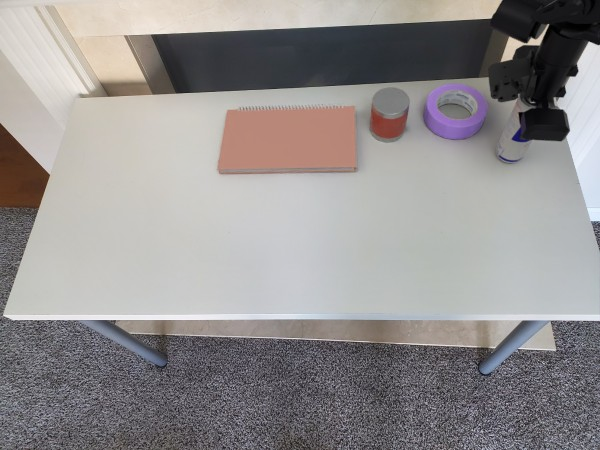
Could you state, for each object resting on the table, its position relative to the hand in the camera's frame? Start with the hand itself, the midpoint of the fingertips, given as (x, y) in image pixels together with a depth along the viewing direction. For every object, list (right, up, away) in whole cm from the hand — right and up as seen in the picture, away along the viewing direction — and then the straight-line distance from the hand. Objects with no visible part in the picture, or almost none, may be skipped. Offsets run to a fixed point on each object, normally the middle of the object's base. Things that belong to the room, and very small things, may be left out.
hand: (521, 126), depth 78 cm
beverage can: (+1, -4, +7) cm, 8 cm away
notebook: (-41, 0, +13) cm, 43 cm away
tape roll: (-8, +5, +13) cm, 16 cm away
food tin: (-21, +2, +13) cm, 25 cm away
